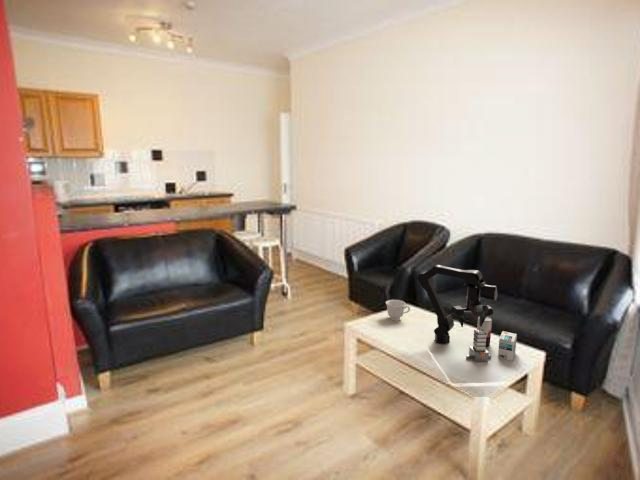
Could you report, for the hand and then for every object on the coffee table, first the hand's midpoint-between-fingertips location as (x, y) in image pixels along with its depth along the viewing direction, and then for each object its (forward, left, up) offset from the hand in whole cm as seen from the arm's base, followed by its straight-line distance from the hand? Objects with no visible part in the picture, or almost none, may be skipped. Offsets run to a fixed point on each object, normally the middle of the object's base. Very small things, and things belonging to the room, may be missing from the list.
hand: (471, 326), depth 195 cm
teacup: (-26, +43, -13) cm, 52 cm away
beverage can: (+9, +5, -13) cm, 17 cm away
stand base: (0, -10, -13) cm, 16 cm away
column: (0, -10, -8) cm, 13 cm away
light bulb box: (+15, -7, -13) cm, 21 cm away
